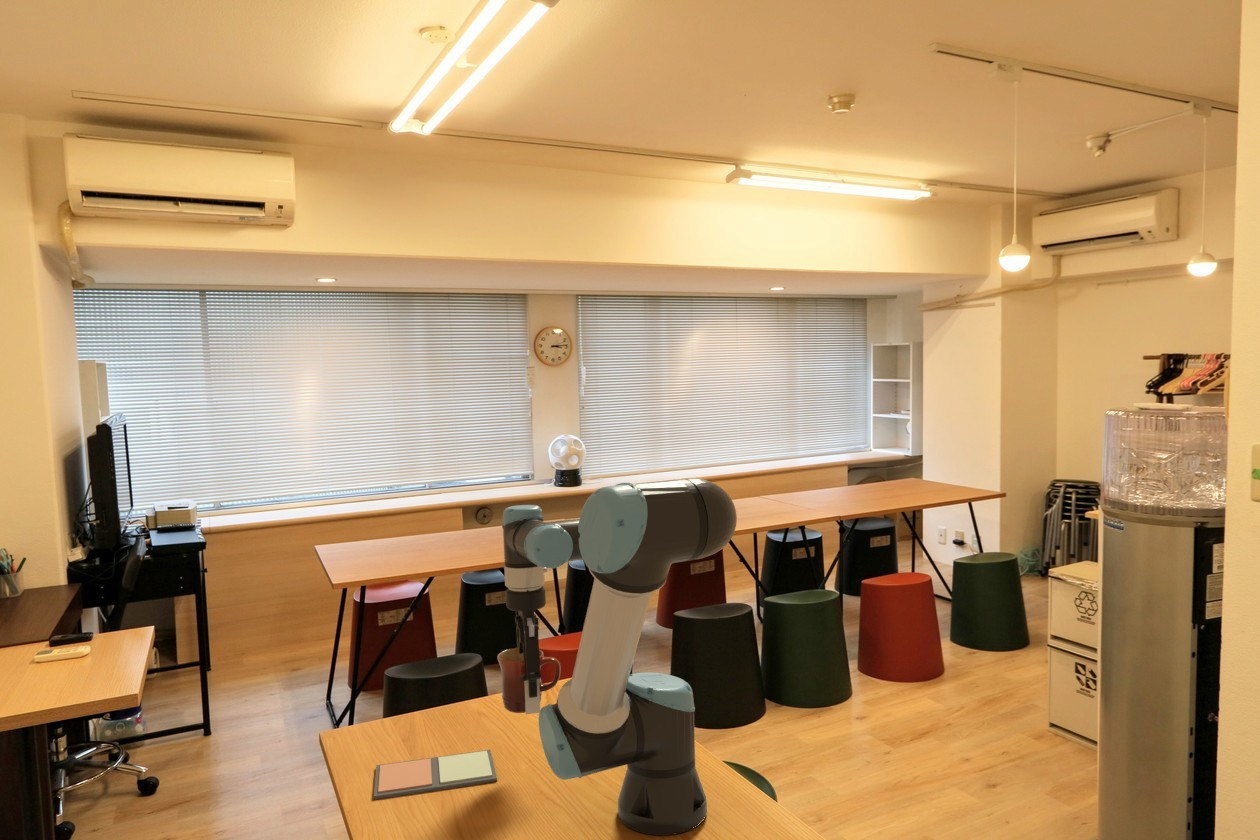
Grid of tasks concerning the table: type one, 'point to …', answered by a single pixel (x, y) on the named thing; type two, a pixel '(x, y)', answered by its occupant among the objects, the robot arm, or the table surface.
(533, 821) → the table surface
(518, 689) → the mug
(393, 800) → the table surface
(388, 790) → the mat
